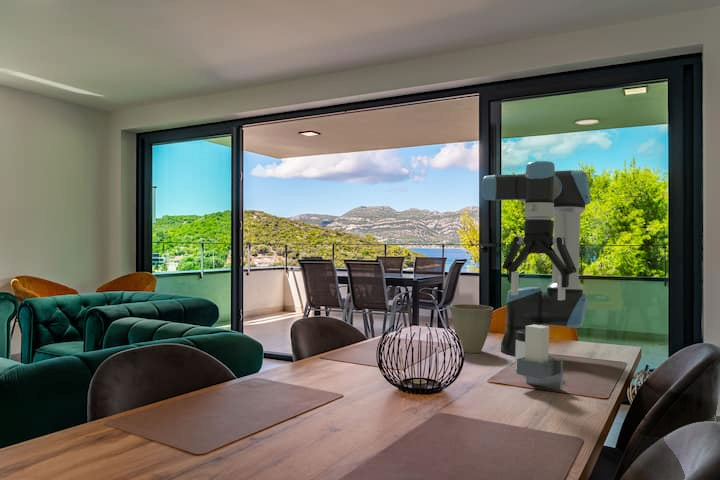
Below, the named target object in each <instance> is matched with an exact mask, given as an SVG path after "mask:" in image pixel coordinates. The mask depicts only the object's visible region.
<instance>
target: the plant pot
mask: <svg viewBox="0 0 720 480" xmlns="http://www.w3.org/2000/svg"><path fill="white" fill-rule="evenodd" d="M450 308H451V310H450V311H451V319H452V324H453V330H454V334H455V333H456V335H457V336H458V337H459V339H460V340H461V343H462V345H463V349H464V352H463V353H468V354H479V353H481V352H482V350H483V348H484V345H485V343H486V340H487V337H488V334H489V330H490V327H491V323H492V319H493V313H494V307H492V306H488V305H485V304H484V305H482V304H471V303H470V304H467V303H462V304H461V303H460V304H458V303H456V304H452V305H450ZM456 335H455V336H456Z"/></svg>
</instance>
